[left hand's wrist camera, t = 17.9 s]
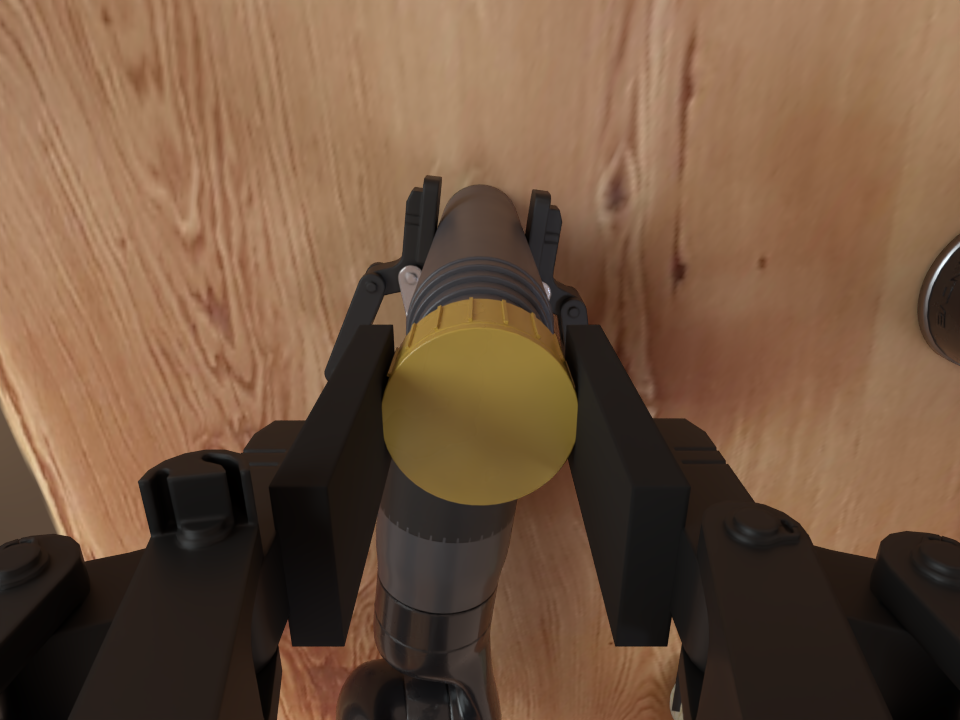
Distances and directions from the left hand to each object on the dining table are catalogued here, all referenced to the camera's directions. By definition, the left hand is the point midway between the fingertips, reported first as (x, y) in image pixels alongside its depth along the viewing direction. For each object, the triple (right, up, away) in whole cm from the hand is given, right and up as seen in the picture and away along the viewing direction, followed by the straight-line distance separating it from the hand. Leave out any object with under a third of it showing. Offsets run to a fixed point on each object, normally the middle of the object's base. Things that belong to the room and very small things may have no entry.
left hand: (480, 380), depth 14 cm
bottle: (0, +8, +20) cm, 22 cm away
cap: (0, -1, -2) cm, 2 cm away
